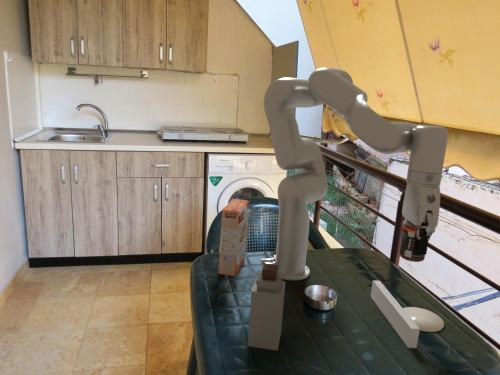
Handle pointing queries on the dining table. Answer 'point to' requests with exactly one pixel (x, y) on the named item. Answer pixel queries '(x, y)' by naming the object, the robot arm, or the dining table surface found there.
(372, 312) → the dining table surface
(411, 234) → the supplement bottle
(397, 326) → the low wall
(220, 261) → the cracker box
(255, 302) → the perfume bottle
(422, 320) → the resting pad
